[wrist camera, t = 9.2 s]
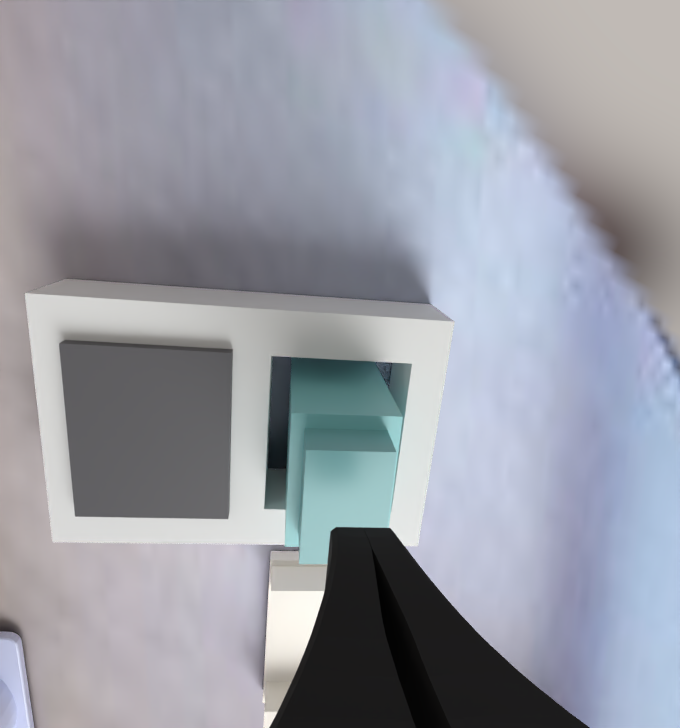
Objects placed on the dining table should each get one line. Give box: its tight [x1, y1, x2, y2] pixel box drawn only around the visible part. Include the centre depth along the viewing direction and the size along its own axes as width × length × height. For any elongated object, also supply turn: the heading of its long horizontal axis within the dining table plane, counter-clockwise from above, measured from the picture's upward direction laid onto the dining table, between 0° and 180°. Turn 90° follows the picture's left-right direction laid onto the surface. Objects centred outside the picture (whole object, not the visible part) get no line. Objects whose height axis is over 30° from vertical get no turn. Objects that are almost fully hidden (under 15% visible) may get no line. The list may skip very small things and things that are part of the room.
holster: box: [263, 551, 327, 728], centre depth 22 cm, size 5×8×2 cm, turn 175°
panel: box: [25, 279, 454, 546], centre depth 18 cm, size 13×9×3 cm
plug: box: [285, 357, 403, 564], centre depth 16 cm, size 3×4×6 cm
